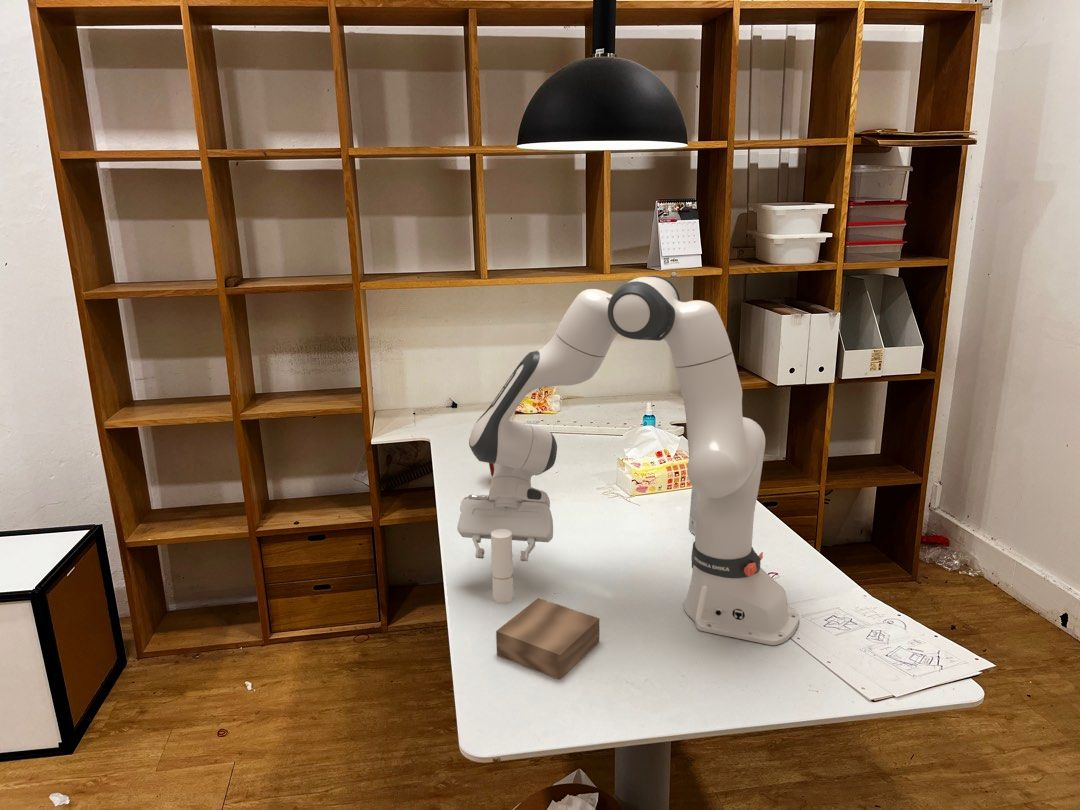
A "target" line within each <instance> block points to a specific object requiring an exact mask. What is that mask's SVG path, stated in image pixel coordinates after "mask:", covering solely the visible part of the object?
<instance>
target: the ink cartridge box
mask: <svg viewBox="0 0 1080 810" xmlns="http://www.w3.org/2000/svg"><path fill="white" fill-rule="evenodd" d="M700 494H701V493H699V492H698V491H697V490H696V489H695V488H694V487H693V486H692V485H691V495H690V507H689V508H690V509H689V520H688V530H689V531H690V532H691V533H692V534H693V535H694V536H695V531H696V509H697V504H698V501H699V498H700Z"/></svg>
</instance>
